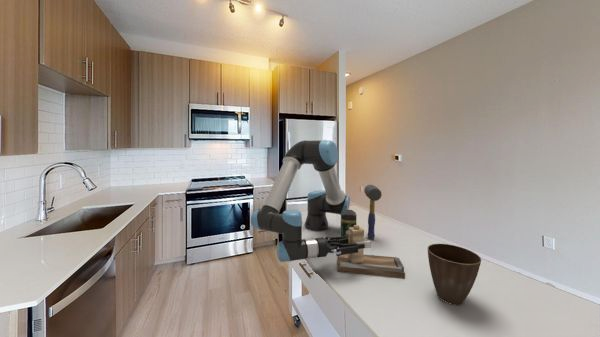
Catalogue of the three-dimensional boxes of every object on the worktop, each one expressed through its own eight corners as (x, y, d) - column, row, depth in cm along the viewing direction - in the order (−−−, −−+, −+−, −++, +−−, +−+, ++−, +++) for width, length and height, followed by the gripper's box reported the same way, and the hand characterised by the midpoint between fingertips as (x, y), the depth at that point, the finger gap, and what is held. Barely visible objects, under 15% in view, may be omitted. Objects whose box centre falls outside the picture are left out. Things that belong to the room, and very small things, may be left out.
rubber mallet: (380, 243, 120) (383, 187, 118) (366, 242, 121) (368, 187, 118) (375, 234, 133) (376, 183, 130) (362, 234, 133) (363, 183, 131)
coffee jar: (340, 241, 123) (340, 208, 121) (355, 242, 122) (356, 208, 120) (340, 249, 113) (341, 213, 112) (356, 250, 112) (357, 214, 110)
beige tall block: (348, 259, 98) (348, 224, 97) (358, 257, 99) (359, 223, 98) (352, 263, 94) (353, 228, 93) (363, 262, 96) (364, 227, 94)
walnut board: (337, 256, 106) (338, 249, 106) (396, 261, 102) (397, 254, 101) (337, 271, 93) (337, 263, 93) (404, 278, 89) (405, 269, 89)
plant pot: (420, 281, 87) (423, 241, 85) (466, 288, 82) (469, 246, 81) (431, 307, 72) (434, 260, 71) (486, 318, 68) (491, 267, 67)
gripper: (309, 247, 100) (357, 242, 106) (322, 267, 84) (378, 259, 90) (309, 231, 99) (357, 226, 105) (323, 248, 83) (379, 241, 89)
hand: (367, 241), depth 97 cm, fingers closed on beige tall block, 4 cm apart
